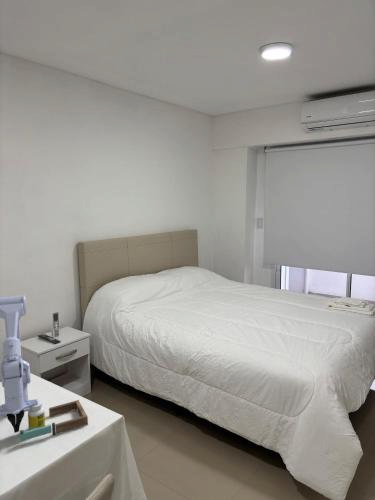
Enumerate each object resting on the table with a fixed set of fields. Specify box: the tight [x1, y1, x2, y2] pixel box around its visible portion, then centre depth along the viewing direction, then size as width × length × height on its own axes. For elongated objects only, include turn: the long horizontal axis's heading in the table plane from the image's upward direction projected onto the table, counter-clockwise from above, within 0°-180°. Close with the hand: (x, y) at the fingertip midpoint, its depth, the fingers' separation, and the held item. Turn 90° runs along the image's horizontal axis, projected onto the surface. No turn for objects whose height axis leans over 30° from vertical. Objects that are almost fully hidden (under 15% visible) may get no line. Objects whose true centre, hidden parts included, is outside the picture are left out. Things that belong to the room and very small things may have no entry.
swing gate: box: [18, 423, 52, 442], centre depth 127 cm, size 10×1×3 cm, turn 119°
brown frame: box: [48, 399, 89, 436], centre depth 138 cm, size 13×12×4 cm
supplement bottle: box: [27, 400, 46, 430], centre depth 132 cm, size 5×5×10 cm
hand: (16, 430), depth 130 cm, fingers closed
